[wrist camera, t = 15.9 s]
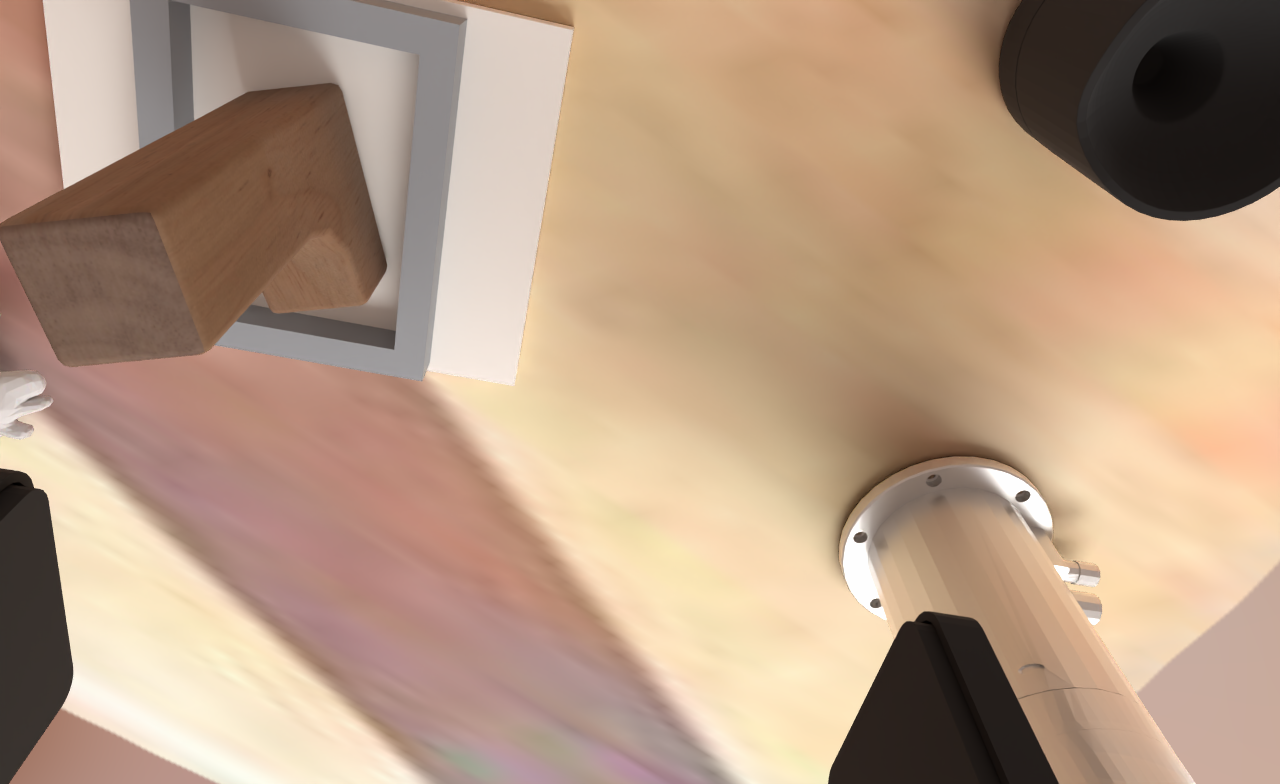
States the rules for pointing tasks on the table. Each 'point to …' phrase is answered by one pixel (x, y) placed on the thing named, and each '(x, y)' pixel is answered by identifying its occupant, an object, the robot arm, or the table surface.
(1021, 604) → the robot arm
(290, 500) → the table surface
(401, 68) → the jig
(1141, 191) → the pen holder
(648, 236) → the table surface
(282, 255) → the wooden block
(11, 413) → the toy figure
